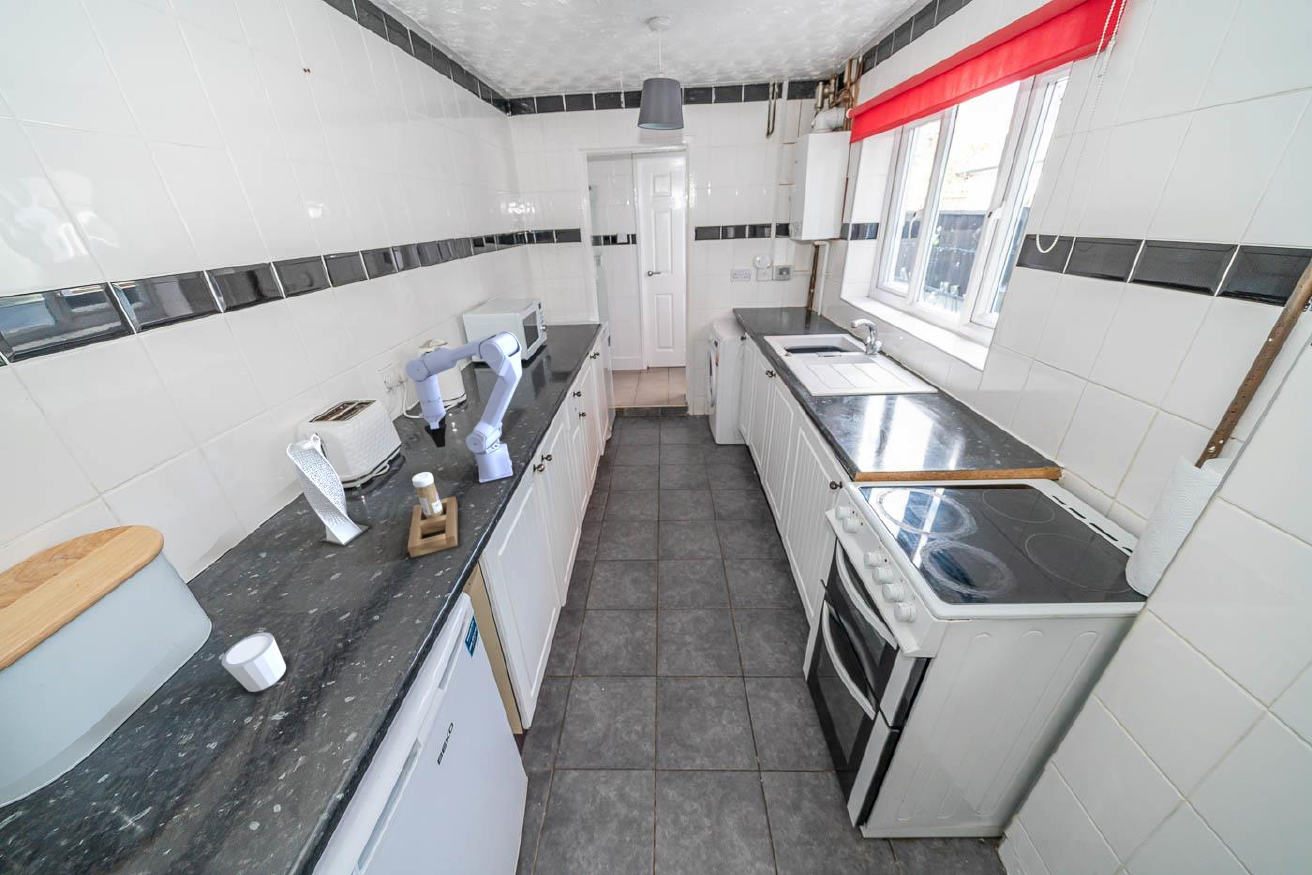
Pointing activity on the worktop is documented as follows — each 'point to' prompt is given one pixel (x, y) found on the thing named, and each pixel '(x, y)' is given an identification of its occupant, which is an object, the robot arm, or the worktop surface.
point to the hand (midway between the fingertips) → (441, 440)
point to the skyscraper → (323, 490)
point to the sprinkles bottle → (428, 495)
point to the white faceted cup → (255, 661)
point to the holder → (433, 529)
